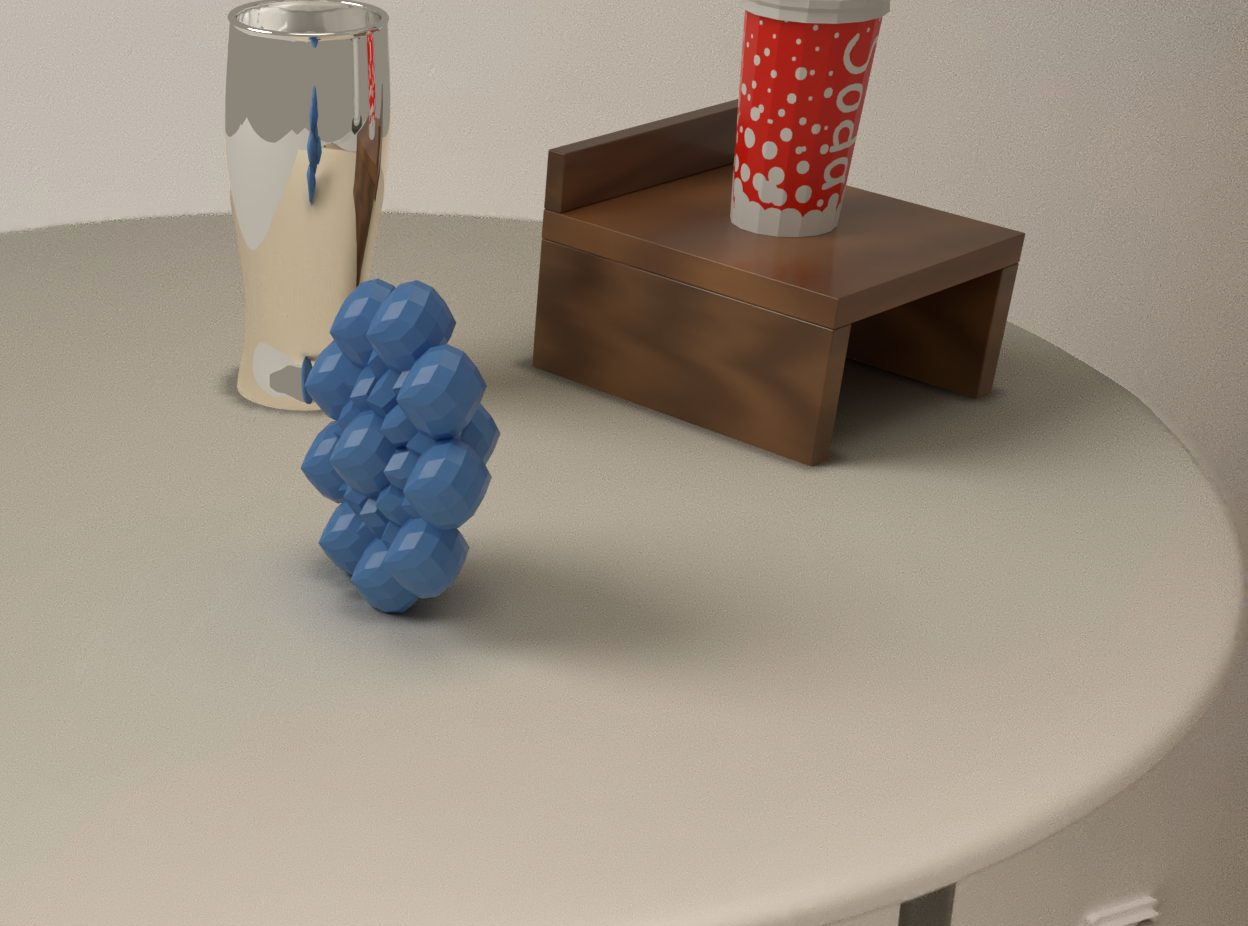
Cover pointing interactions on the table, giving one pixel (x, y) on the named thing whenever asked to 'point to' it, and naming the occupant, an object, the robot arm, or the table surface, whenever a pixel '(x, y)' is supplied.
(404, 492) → the grapes
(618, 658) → the table surface
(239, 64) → the beer glass
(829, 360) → the shelf
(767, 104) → the beverage cup
